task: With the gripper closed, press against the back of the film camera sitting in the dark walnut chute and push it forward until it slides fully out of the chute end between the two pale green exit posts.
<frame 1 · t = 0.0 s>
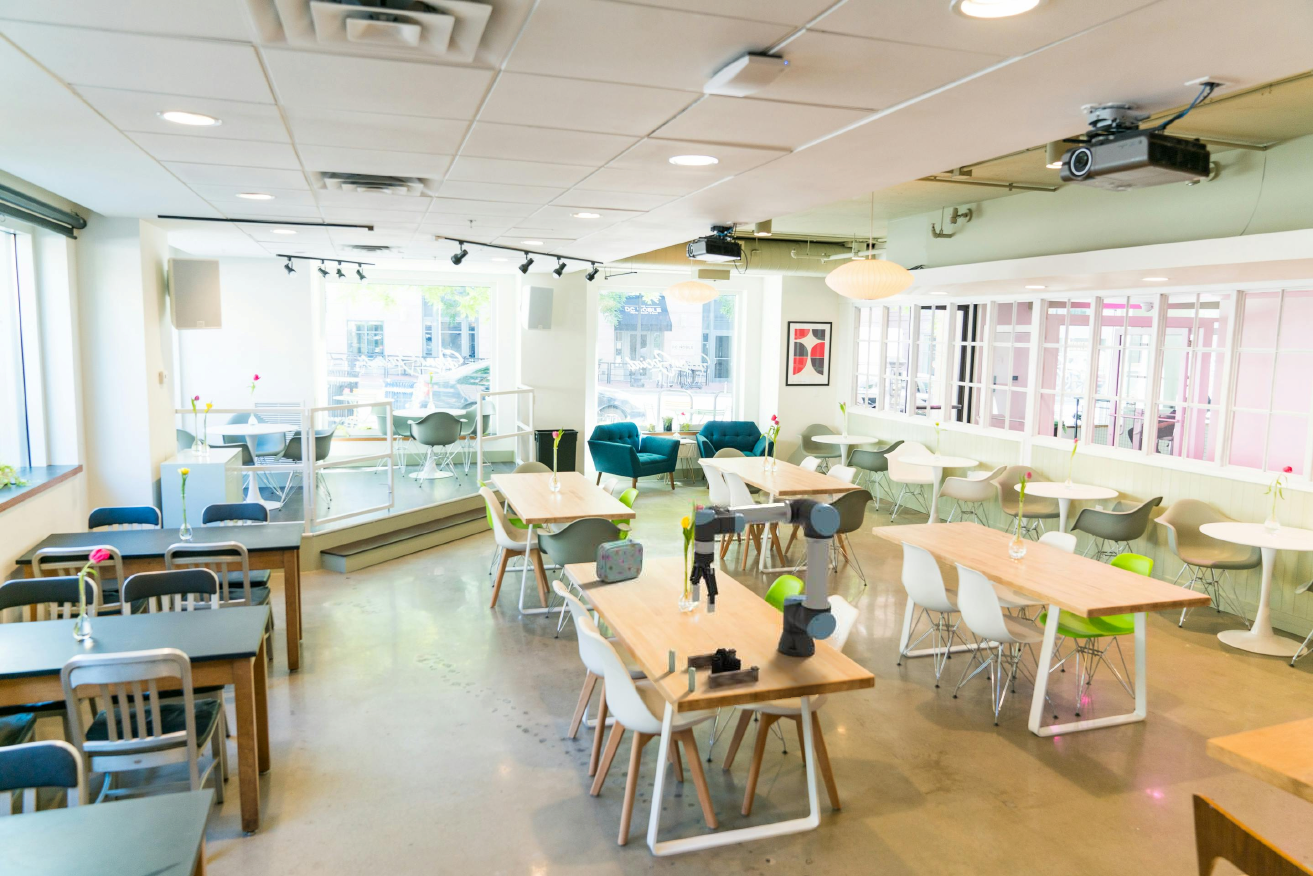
hand: (703, 606, 309), 28 cm above the table, fingers open, 13 cm apart
lunch box: (619, 579, 445), on the table
film camera: (726, 674, 318), on the table
chute: (722, 674, 317), on the table
exit posts: (681, 680, 311), on the table
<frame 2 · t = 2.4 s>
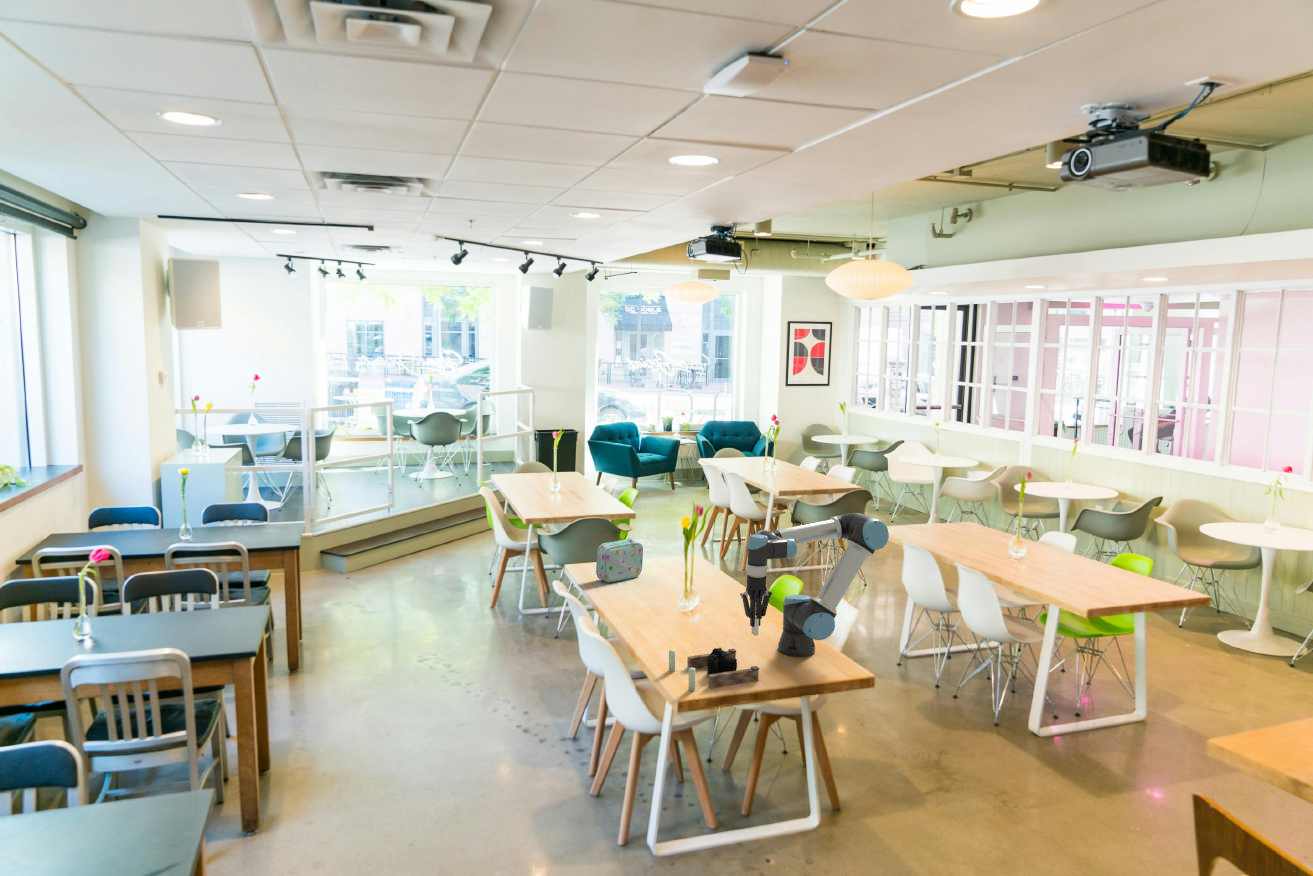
hand: (754, 634, 320), 14 cm above the table, fingers closed
film camera: (722, 673, 318), on the table
everything else where it was.
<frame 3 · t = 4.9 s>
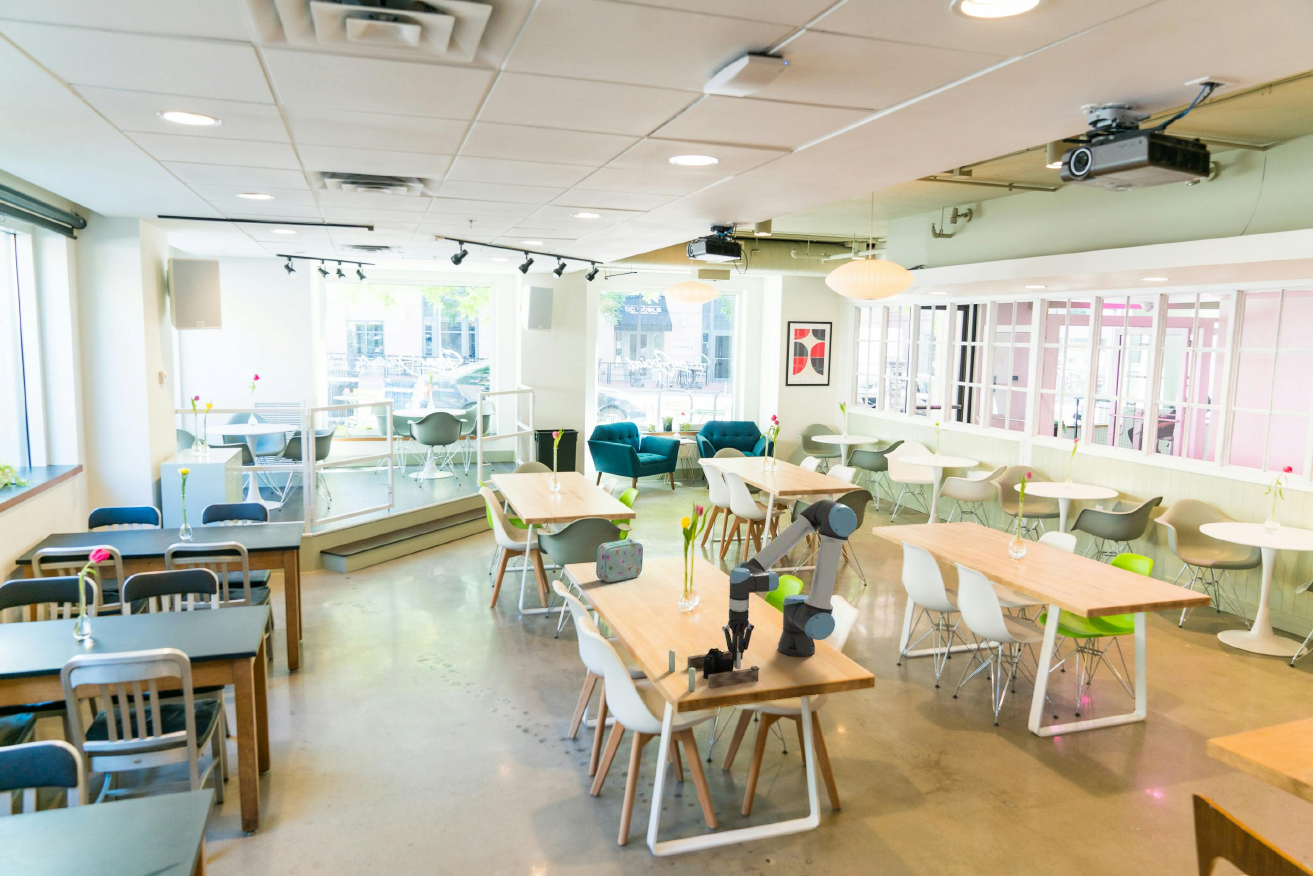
hand: (737, 667, 319), 2 cm above the table, fingers closed
film camera: (718, 674, 318), on the table, touching chute
everything else where it was.
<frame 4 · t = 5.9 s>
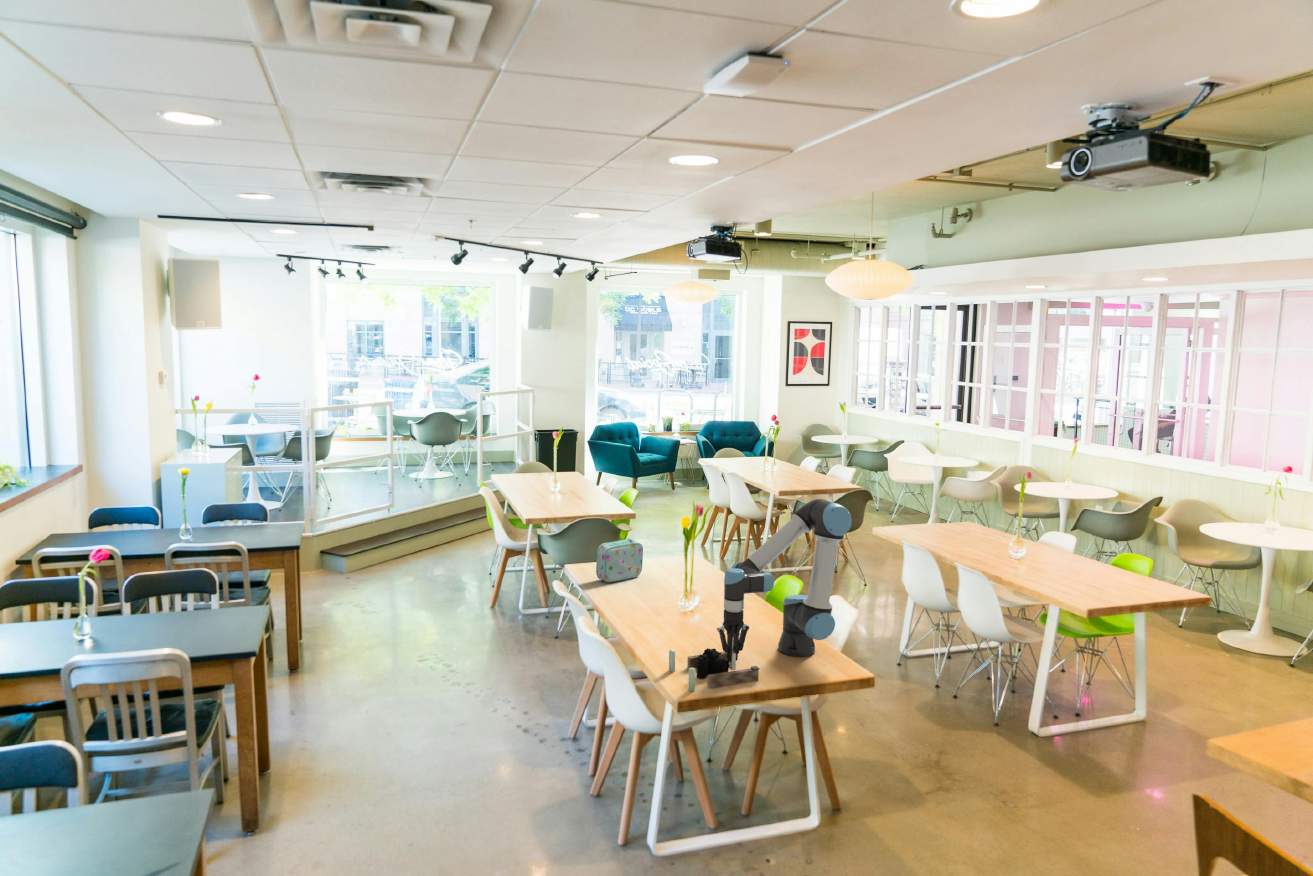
hand: (732, 668, 318), 2 cm above the table, fingers closed
film camera: (713, 674, 317), on the table, touching chute, gripper
everything else where it was.
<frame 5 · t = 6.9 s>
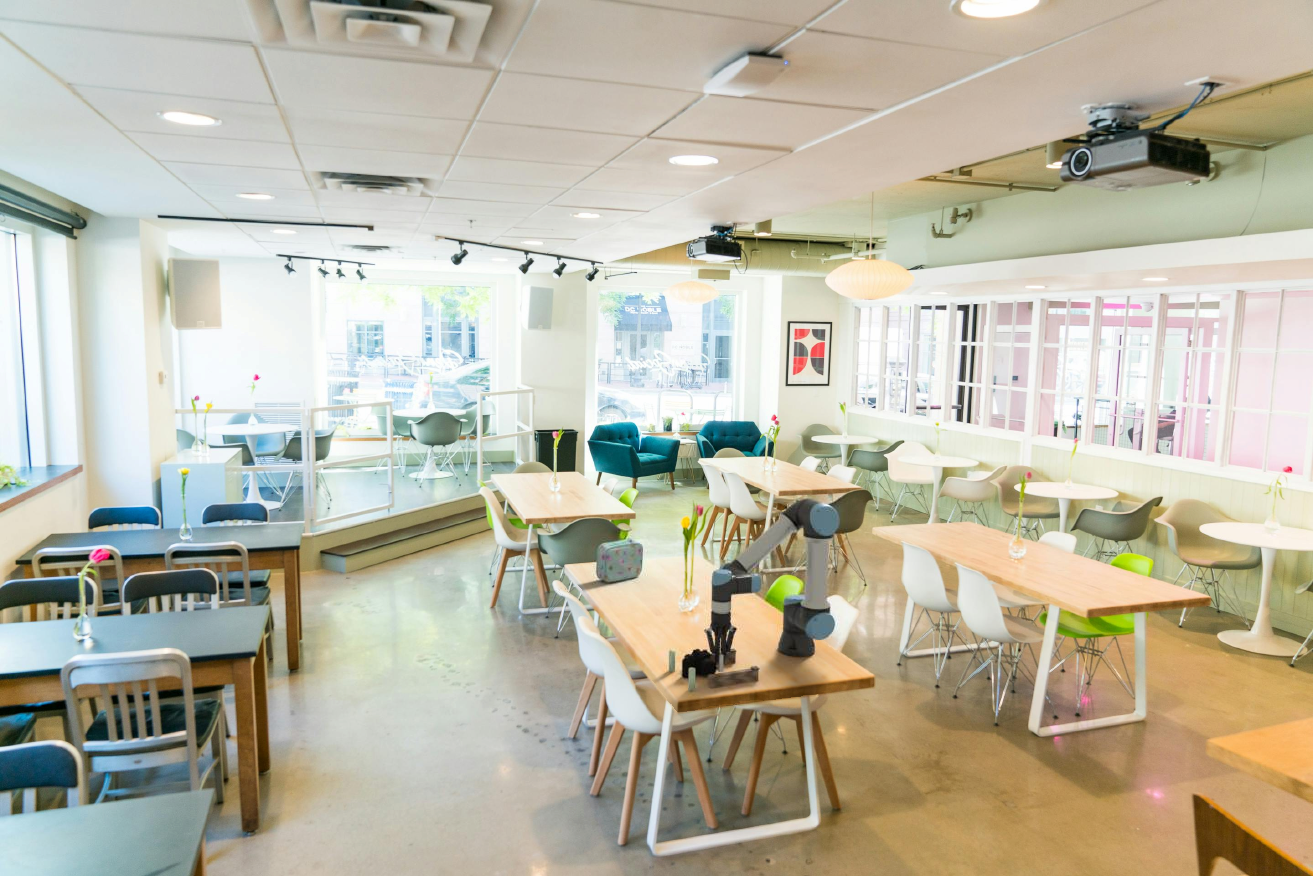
hand: (719, 670, 316), 2 cm above the table, fingers closed
film camera: (701, 675, 316), on the table, touching gripper
everything else where it was.
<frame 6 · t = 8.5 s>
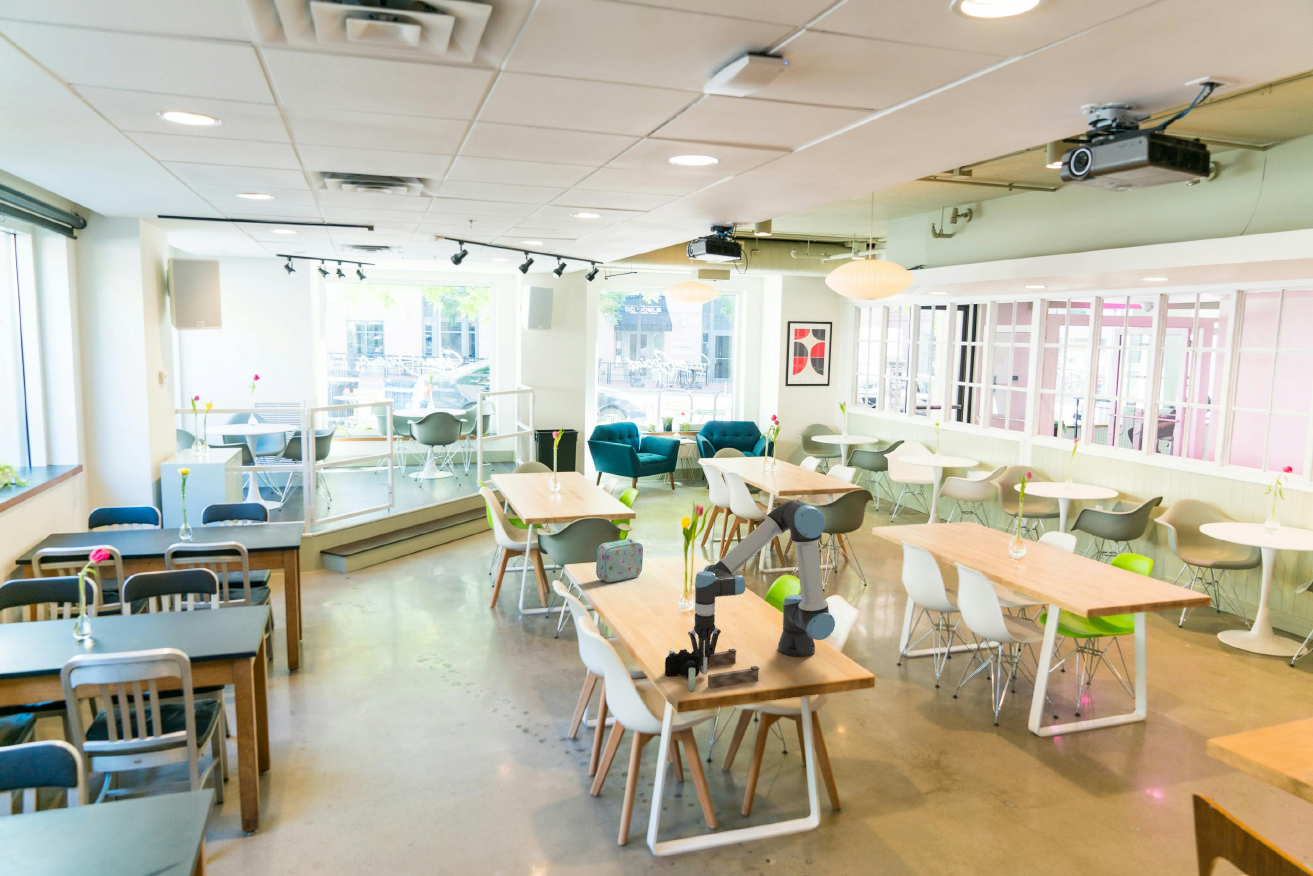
hand: (703, 673, 314), 1 cm above the table, fingers closed
film camera: (685, 675, 316), on the table, touching chute, gripper
everything else where it was.
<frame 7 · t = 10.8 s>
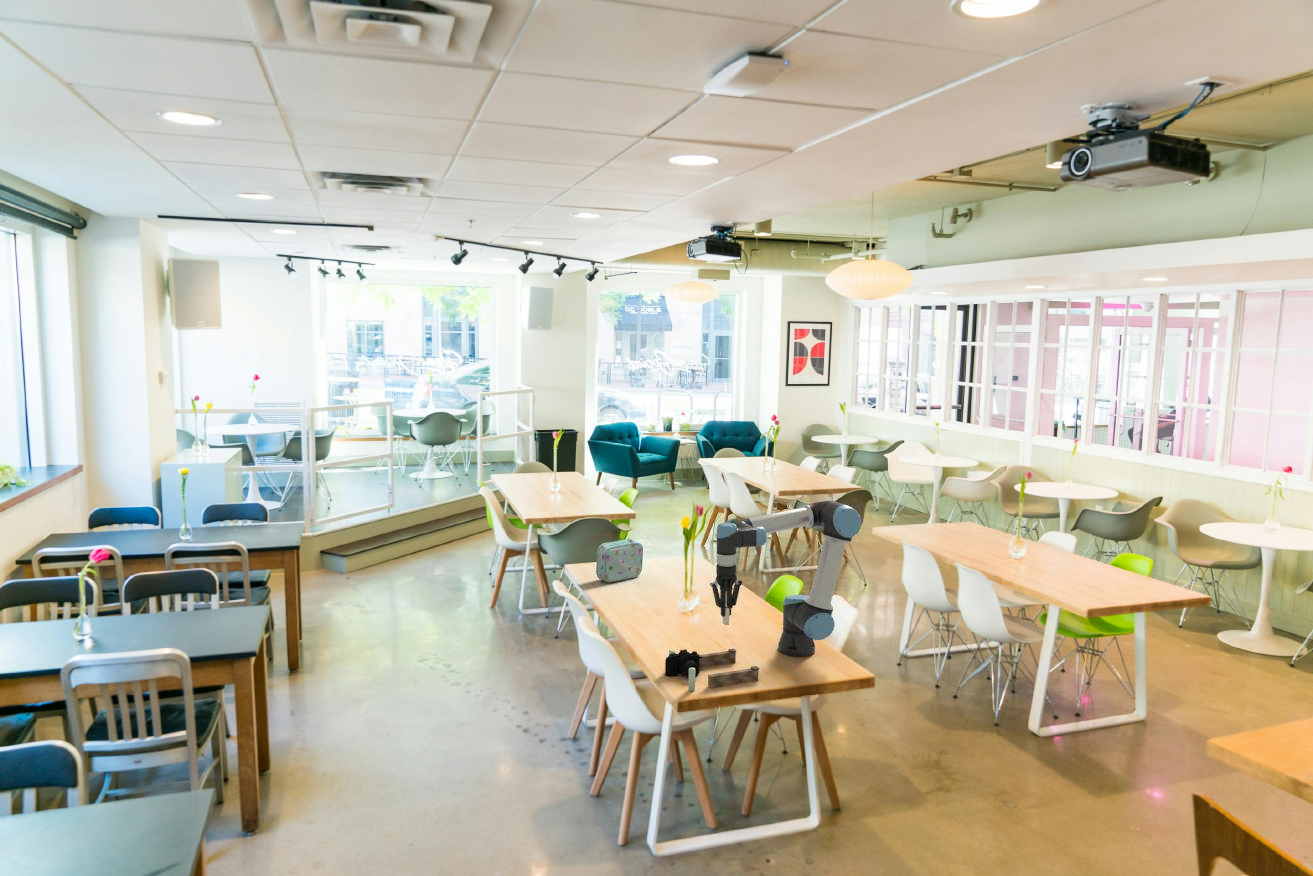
hand: (725, 623, 316), 19 cm above the table, fingers closed
film camera: (685, 676, 316), on the table
everything else where it was.
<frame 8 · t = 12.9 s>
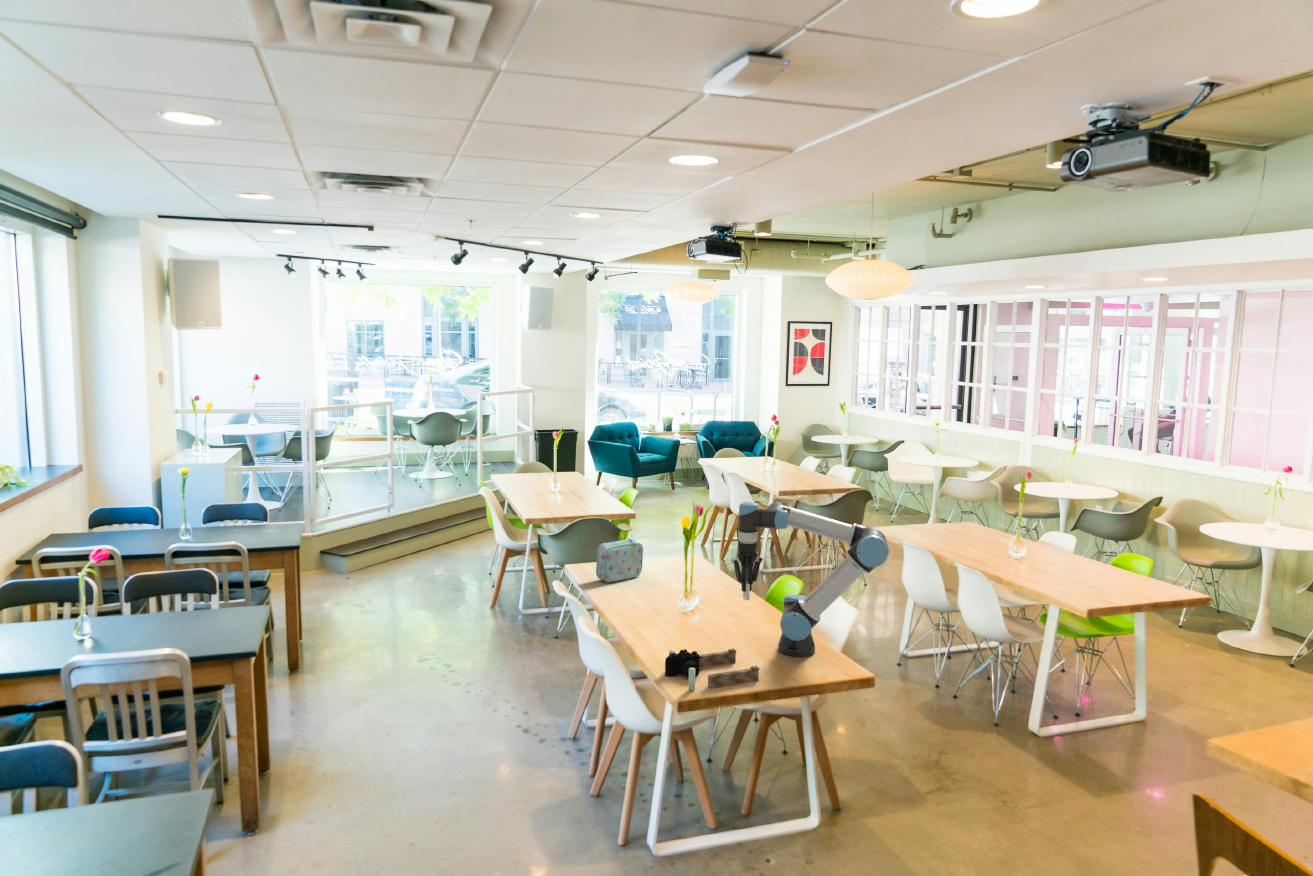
hand: (746, 599, 331), 24 cm above the table, fingers closed
nothing on the table moved.
at the end: film camera inside the target area (4.8 cm from its centre), on the table; film camera tilted 0°; film camera moved 16.0 cm from its start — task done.
